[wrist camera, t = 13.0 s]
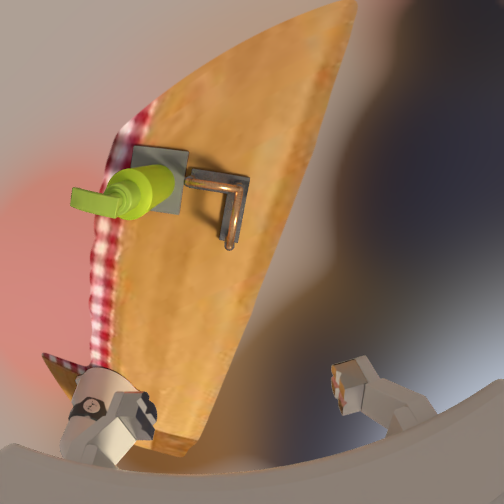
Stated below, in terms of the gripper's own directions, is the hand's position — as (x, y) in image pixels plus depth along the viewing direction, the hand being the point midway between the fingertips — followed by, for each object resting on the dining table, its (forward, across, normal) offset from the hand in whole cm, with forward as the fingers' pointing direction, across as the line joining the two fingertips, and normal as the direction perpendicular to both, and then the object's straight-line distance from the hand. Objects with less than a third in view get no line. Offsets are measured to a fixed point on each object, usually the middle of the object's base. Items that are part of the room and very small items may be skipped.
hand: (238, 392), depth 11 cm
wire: (+36, +3, -2) cm, 36 cm away
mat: (+36, +11, -8) cm, 38 cm away
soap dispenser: (+35, +11, -8) cm, 38 cm away
